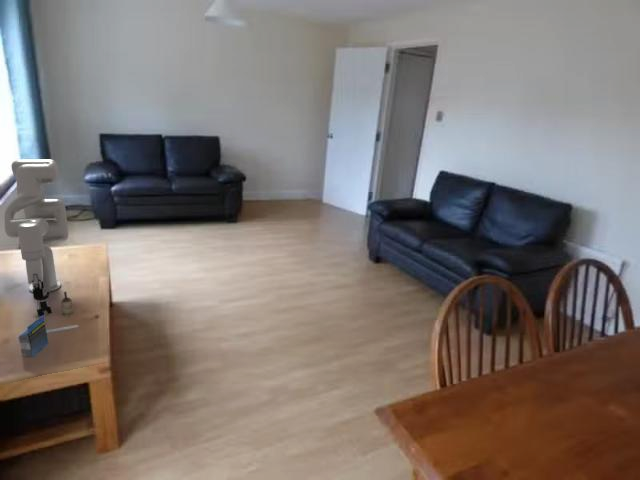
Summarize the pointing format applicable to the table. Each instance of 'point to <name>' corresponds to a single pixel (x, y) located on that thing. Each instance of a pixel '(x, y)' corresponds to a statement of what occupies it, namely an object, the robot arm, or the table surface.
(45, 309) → the push button
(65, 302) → the awl
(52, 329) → the flat metal tool blade
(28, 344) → the label tape cartridge
